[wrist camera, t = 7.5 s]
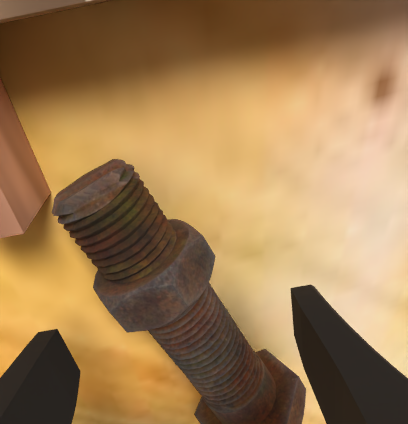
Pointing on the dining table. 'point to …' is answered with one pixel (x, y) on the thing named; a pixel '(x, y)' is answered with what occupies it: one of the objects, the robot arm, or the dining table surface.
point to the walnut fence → (22, 136)
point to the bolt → (174, 297)
